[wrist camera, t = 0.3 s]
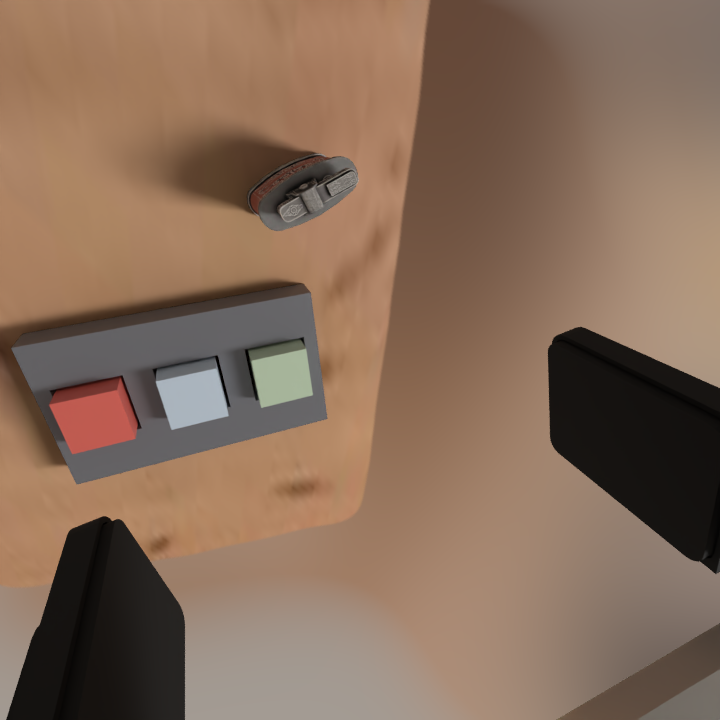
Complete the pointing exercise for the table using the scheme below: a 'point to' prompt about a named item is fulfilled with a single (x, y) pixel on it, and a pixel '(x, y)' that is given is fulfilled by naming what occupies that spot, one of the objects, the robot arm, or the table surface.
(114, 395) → the red button
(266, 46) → the table surface
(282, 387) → the sage button
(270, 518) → the table surface
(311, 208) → the lighter
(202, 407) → the bluegrey button
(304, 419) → the button panel
